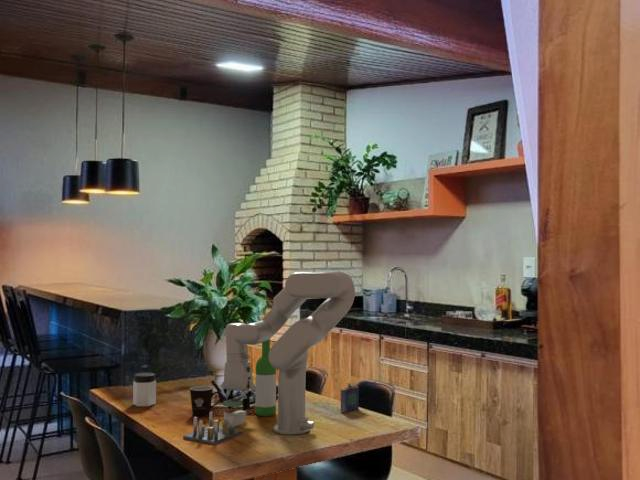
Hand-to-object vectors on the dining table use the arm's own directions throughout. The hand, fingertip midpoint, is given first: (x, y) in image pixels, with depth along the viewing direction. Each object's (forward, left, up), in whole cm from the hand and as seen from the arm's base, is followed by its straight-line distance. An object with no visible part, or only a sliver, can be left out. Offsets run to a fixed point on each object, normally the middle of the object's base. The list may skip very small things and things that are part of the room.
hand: (238, 408), depth 229 cm
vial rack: (-1, +16, -6) cm, 17 cm away
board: (0, 0, +2) cm, 2 cm away
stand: (+1, 0, -6) cm, 6 cm away
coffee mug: (+19, -4, -6) cm, 20 cm away
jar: (+51, -5, -6) cm, 52 cm away
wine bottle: (0, -17, -6) cm, 18 cm away
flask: (-25, -38, -6) cm, 46 cm away
